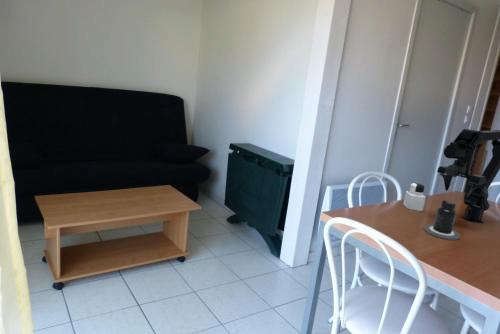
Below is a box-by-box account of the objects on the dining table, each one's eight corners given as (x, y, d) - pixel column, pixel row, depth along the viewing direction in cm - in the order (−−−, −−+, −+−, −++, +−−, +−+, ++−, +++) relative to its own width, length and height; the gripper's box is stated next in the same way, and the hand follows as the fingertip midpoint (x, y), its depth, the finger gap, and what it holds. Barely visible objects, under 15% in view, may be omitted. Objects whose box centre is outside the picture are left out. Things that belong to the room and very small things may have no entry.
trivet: (448, 228, 153) (449, 226, 153) (466, 241, 140) (467, 239, 140) (418, 225, 152) (418, 223, 152) (433, 238, 140) (433, 235, 140)
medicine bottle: (417, 206, 180) (422, 183, 177) (423, 211, 173) (428, 187, 170) (403, 204, 180) (407, 181, 178) (407, 209, 173) (412, 185, 171)
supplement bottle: (454, 235, 142) (461, 206, 140) (435, 232, 143) (442, 203, 141) (448, 229, 149) (455, 201, 146) (430, 226, 150) (437, 198, 147)
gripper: (433, 154, 160) (425, 188, 163) (475, 164, 144) (465, 201, 147) (449, 154, 165) (441, 187, 169) (491, 164, 149) (481, 200, 153)
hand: (456, 193), depth 159 cm, fingers open, 9 cm apart
